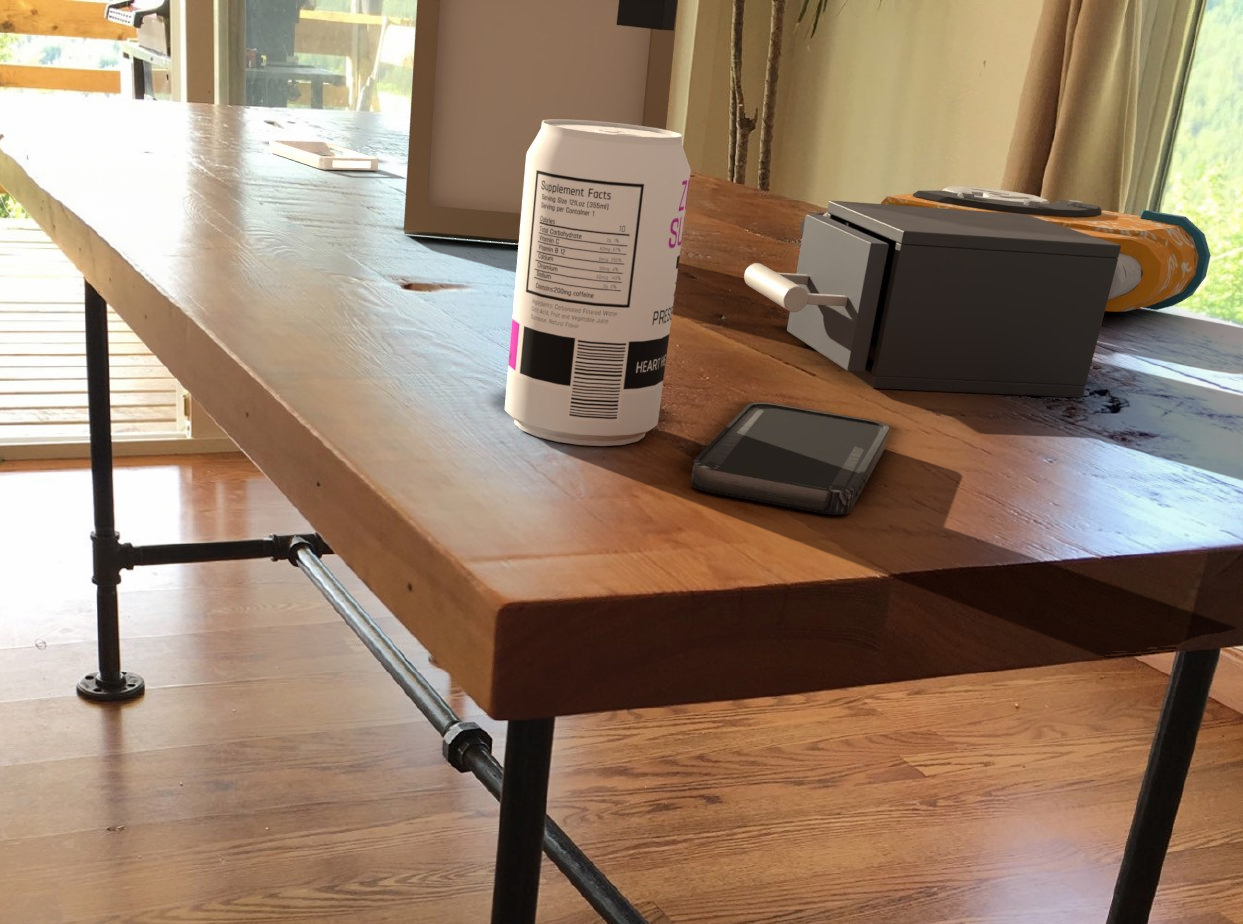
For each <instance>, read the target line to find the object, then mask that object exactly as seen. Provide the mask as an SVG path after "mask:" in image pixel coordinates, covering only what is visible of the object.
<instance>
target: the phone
mask: <svg viewBox="0 0 1243 924" xmlns="http://www.w3.org/2000/svg"><path fill="white" fill-rule="evenodd" d="M889 431H890V426H889V425H888V424H886V423H883V422H880V421H878V420H874V419H873V420H872V419H866V418H863V417H862V418H861V417H855V416H849V415H844V414H838V413H831V412H826V411H820V410H814V409H809V408H802V407H797V406H796V407H795V406H792V405H791V406H790V405H784V404H778V403H774V402H773V403H772V402H764V401H763V402H762V401H757V402H756V401H755V402H750V403H748V404H747V405H746V406H745V407H744V408H743V409H742V410H741V411H740V412H739V413H738V414H737V415H736V416H735V417H734V418H733V419H732V420H731V421H730V422H729V423H728V424H727V425H726V427H724V429H722V431H721V432H720V433H719V434H718V435H716V437H714V439H713V440H711V442H710V443H709V444H708V445H707V446H706V447H705V448H704V449H703V450H702V451H701V452H700V453H699V454H698V455H697V456H696V457H695V458H694V459H693V462H692V467H691V468H692V470H691V477H690V483H689V484H690V485H691V487H693V488H694V489H696V490H699V491H703V492H706V493H711V494H716V495H722V496H728V497H732V498H737V499H743V500H748V501H754V502H759V503H765V504H769V505H770V504H771V505H776V506H781V507H786V508H792V509H796V510H803V511H808V512H813V513H818V514H824V515H830V516H831V515H833V516H835V515H836V516H839V515H846V514H849V513H850V512H852V510H853V508H854V506H855V504H856V502H857V501H858V499H859V497H860V495H861V493H862V491H863V490H864V488H865V486H866V484H867V482H868V480H869V478H870V477H871V475H872V473H873V471H874V469H875V468H876V466H877V464H878V463H879V460H880V458H881V457H882V455H883V453H884V451H885V449H886V446H887V441H888V436H889Z"/></svg>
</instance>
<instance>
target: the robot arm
mask: <svg viewBox="0 0 1243 924" xmlns="http://www.w3.org/2000/svg"><path fill="white" fill-rule="evenodd" d="M677 1H678V2H679V0H619V6H618V15H617V24H616V25H621V26H630V27H639V28H648V29H657V30H672V31H674V26H675V17H676V9H677V10H678V8H677Z"/></svg>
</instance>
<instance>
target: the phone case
mask: <svg viewBox="0 0 1243 924" xmlns="http://www.w3.org/2000/svg"><path fill="white" fill-rule="evenodd" d="M331 149H332V150H336V151H339V152H341V153H342V154H339V153H335V152H332V151H331ZM269 153H271V154H274V155H277V156H280V157H282V158H285V159H289V160H291V161H295V162H297V163H301V164H303V165H307V166H310V167H313V168H316V169H319V170H329V171H332V170H333V171H378V170H379V158H378V157H376V156H372V155H368V154H366V153H362V152H358V151H355V150H352V149H349V148H346V147H341V146H339V145H335V144H332V143H329V142H324V141H305V140H304V141H303V140H272V139H271V140H269ZM323 154H324V155H323Z"/></svg>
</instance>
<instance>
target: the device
mask: <svg viewBox="0 0 1243 924" xmlns="http://www.w3.org/2000/svg"><path fill="white" fill-rule="evenodd" d="M880 204H887V205H901V206H915V207H930V208H944V209H958V210H972V211H987V212H1001V213H1015V214H1026V215H1029V216H1032V217H1035V218H1038V219H1042V220H1045V221H1048V222H1051V223H1054V224H1057V225H1060V226H1063V227H1066V228H1069V229H1072V230H1075V231H1078V232H1081V233H1084V234H1087V235H1091V236H1094V237H1097V238H1100V239H1103V240H1106V241H1109V242H1112V243H1115V244H1118V245H1121V249H1120V253H1119V257H1118V258H1117V259H1118V262H1117V266H1116V270H1115V274H1114V277H1113V281H1112V285H1111V289H1110V293H1109V297H1108V301H1107V305H1106V309H1105V312H1129V311H1133V310H1138V309H1142V308H1143V309H1147V310H1153V311H1158V310H1159V311H1160V310H1162V309H1167V308H1170V307H1174V306H1176V305H1178V304H1179V303H1181V302H1184V301H1186V300H1187V299H1188V298H1190V297H1191V296H1193V295H1194V294H1195V292H1196V291H1197V290H1198V289H1199V287H1200V285H1201V284H1202V283H1203V281H1204V280H1205V279H1206V277H1207V273H1208V269H1209V266H1210V265H1209V264H1210V261H1211V252H1210V248H1209V245H1208V242H1207V237H1206V235H1205V233H1204V232H1203V231H1202V230H1201V229H1200V228H1199V227H1198V226H1197V225H1195V223H1193V222H1192V221H1191V220H1190V219H1189V218H1188V217H1187V216H1184V215H1179V214H1172V213H1165V212H1159V211H1155V210H1154V211H1153V210H1148V209H1141V210H1140V215H1137V214H1129V213H1123V212H1117V211H1110V210H1104V209H1103V210H1102V208H1101V207H1100V205H1096V204H1089V203H1084V201H1081V200H1072V199H1069V200H1064V199H1059V200H1057V201H1055V202H1052V203H1050V201H1049V200H1048V199H1046V198H1044V197H1040V196H1037V195H1034V194H1029V193H1022V192H1018V191H1017V192H1016V191H1011V190H1005V189H998V188H988V187H976V186H961V185H959V186H952V185H949V186H947V187H945V188H943V189H942V190H917V191H915V192H914V193H913V192H912V193H906V194H905V193H904V194H896V195H887V196H886V197H885V198H884V199H883V200H882V201H881V202H880ZM827 213H828V212H827V211H824V212H813V213H812V214H813V215H823V216H825V217H826V216H827ZM805 218H806V216H805V217H804V218H803V219H802V221H801V222H800V225H799V230H800V235H801V237H802V236H803V230H804V224H805Z"/></svg>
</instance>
